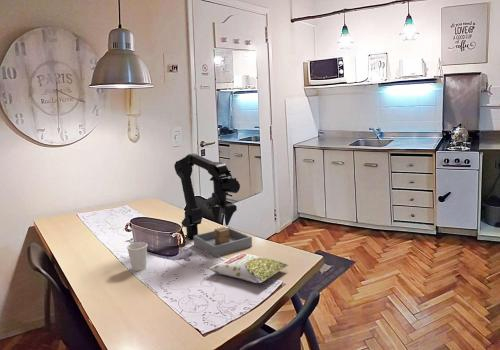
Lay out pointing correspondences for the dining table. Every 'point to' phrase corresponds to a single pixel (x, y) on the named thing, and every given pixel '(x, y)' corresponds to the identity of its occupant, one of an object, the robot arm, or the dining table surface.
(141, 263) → the dixie cup
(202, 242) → the grey bin
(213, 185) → the robot arm
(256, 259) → the frozen beans
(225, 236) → the walnut block
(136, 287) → the dining table surface
